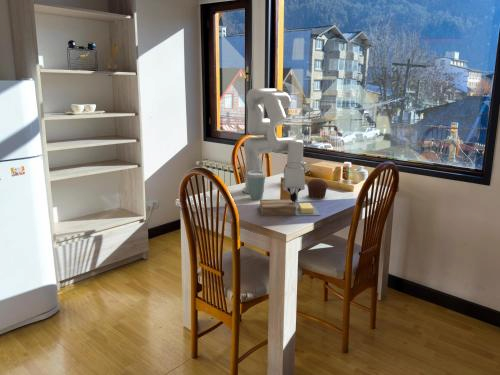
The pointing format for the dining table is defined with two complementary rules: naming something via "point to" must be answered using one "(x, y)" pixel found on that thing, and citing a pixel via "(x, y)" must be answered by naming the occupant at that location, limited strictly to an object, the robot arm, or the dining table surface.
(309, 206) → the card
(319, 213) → the mat
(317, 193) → the muffin
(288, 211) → the deck
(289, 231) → the dining table surface
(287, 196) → the small box
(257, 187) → the disposable coffee cup
